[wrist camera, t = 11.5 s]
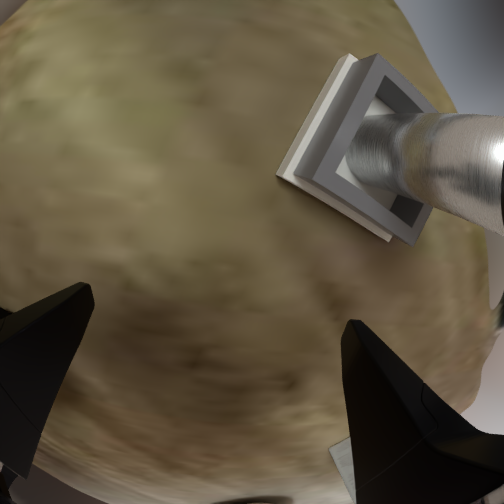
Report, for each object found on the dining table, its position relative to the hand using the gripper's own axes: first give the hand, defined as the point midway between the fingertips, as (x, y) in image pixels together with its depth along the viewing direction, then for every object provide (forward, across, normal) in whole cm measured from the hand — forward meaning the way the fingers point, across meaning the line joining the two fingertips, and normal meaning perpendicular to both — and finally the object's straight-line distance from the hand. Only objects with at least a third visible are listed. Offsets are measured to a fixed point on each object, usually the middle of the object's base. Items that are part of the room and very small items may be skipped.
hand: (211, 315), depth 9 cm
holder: (+14, -8, -5) cm, 17 cm away
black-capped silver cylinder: (+12, -8, -5) cm, 16 cm away
